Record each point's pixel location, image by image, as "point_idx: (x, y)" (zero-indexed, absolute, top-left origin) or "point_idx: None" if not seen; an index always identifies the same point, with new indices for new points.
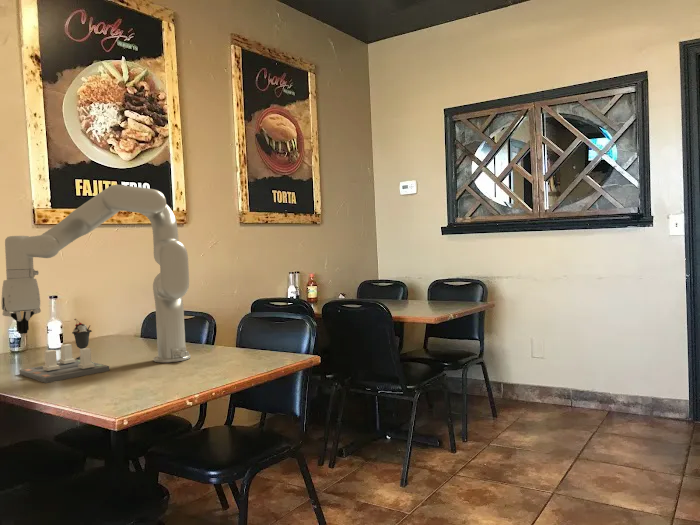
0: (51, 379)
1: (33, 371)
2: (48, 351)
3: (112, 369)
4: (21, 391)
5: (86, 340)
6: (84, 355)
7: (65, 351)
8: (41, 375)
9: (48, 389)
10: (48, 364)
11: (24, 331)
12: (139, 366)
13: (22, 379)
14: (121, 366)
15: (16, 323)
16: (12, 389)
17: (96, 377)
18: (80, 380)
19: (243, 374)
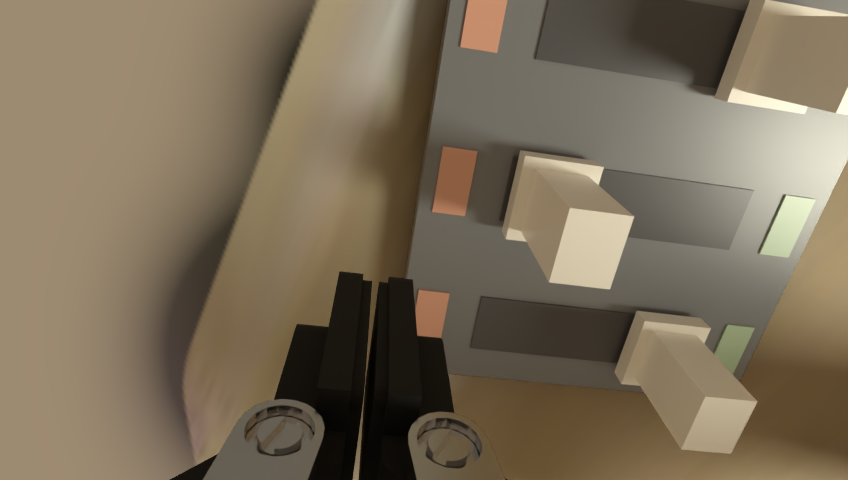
0: None
1: (473, 105)
2: (560, 269)
3: (745, 372)
4: (242, 407)
5: None
6: (666, 419)
7: (799, 104)
8: (418, 293)
9: None
10: (526, 229)
11: (365, 390)
12: (831, 429)
13: (378, 129)
14: (822, 351)
15: (276, 394)
16: (230, 332)
17: (575, 452)
18: (504, 443)
19: None
